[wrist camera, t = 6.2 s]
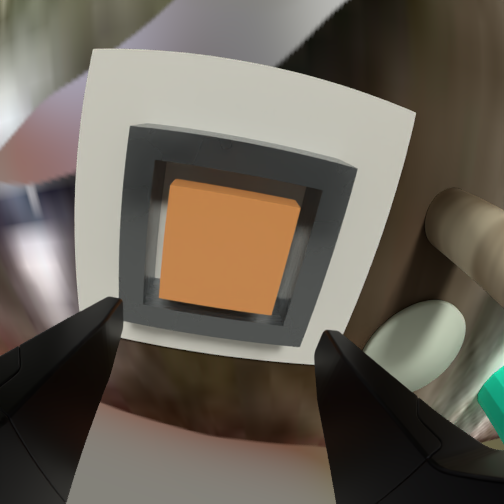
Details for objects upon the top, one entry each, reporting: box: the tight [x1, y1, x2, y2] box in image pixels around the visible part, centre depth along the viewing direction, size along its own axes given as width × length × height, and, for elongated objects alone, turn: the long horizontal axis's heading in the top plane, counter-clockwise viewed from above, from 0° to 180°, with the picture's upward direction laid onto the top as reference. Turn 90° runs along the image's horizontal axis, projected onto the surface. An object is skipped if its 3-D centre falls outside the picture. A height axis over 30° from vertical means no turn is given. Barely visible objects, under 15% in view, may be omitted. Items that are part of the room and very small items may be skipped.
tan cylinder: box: [425, 188, 504, 308], centre depth 12 cm, size 4×4×10 cm
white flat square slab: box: [75, 49, 416, 365], centre depth 15 cm, size 16×16×3 cm
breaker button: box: [159, 179, 301, 315], centre depth 13 cm, size 5×5×1 cm
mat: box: [363, 300, 466, 392], centre depth 21 cm, size 9×9×1 cm
